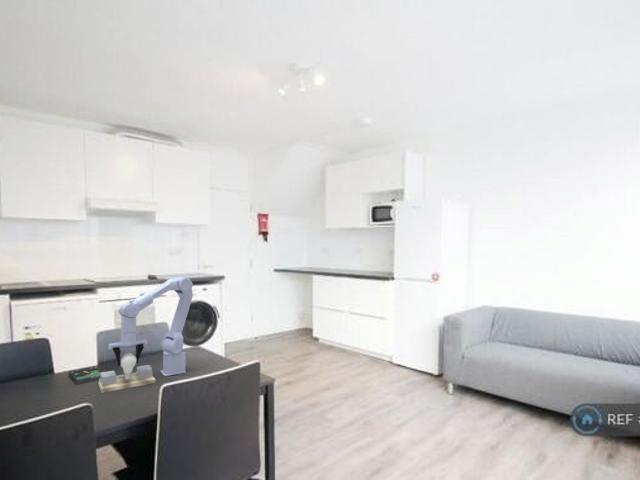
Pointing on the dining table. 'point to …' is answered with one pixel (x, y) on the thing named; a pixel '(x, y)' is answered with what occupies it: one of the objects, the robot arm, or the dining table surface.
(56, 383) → the dining table surface
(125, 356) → the lightbulb
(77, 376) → the disk drive
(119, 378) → the rail board
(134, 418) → the dining table surface
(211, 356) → the dining table surface
